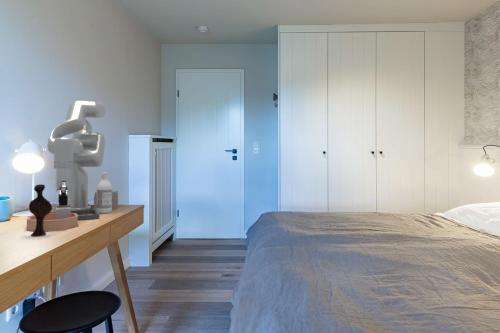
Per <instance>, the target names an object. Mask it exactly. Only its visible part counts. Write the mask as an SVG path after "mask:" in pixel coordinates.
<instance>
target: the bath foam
mask: <svg viewBox="0 0 500 333" xmlns="http://www.w3.org/2000/svg"><path fill="white" fill-rule="evenodd" d="M112 191H113V186H112V184H111V181H110V180H109V172H106V171H103V172H101V179H100V181H99V183H98V184H97V187H96V192H97V212H98V213H99V214H110V213H112V212H113V209H112Z"/></svg>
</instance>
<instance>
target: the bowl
mask: <svg viewBox="0 0 500 333" xmlns="http://www.w3.org/2000/svg"><path fill="white" fill-rule="evenodd" d="M78 226H79V220H78V215H77V213H71V217H70V218H66V219H58V220H56V213H49V214H48V215H46V216H45V217H44V220H43V229H44V231H45V232H46V233H47V232H55V231H56V232H57V231H66V230H69V229H72V228H76V227H78ZM35 229H36V217H35V215H33V214H32V215H29V216H27V217H26V231H31V232H34V231H35Z"/></svg>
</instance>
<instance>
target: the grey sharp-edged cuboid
mask: <svg viewBox="0 0 500 333" xmlns="http://www.w3.org/2000/svg"><path fill="white" fill-rule="evenodd" d="M55 212H56V220H58V219H66V218H70V217H71V208H70V207H65V208H57V207H56V208H55Z"/></svg>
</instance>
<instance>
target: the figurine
mask: <svg viewBox="0 0 500 333" xmlns="http://www.w3.org/2000/svg"><path fill="white" fill-rule="evenodd" d="M45 188H46V185H45V184H40V183H39V184H36V185H35V186H34V188H33V190H34V192H36V194H37V195H36V197H35V198H34V199H32V200H31V201H30V202H29V205H28V209H29V212H30V213H31V214H32V216H33V215H35V217H36V229H35V231H32V233H30V236H31V237H42V236H46V235H47V231H46V232H45V231H44V229H43V220H44V217H45V216H46V215H48V214H49V213H50V212H52V209H53V206H52V203H51V202H50V201H49V200H48V199H47V198H45V197H44V196H43V193H44V190H45Z"/></svg>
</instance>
